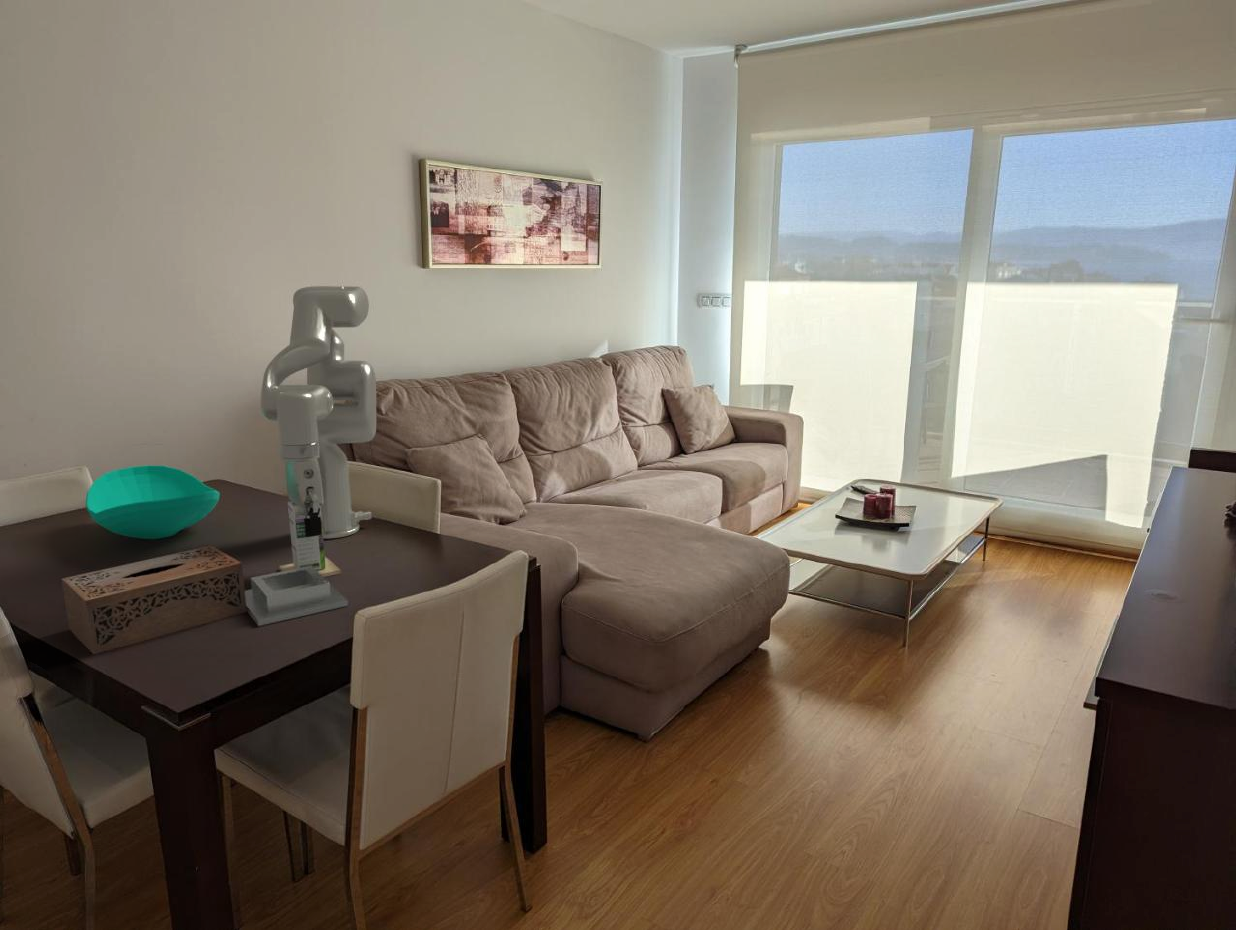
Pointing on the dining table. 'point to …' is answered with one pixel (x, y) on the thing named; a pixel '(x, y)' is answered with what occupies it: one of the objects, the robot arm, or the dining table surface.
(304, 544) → the syrup box
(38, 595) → the dining table surface
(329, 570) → the cork mat
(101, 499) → the table top decor
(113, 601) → the tissue box cover
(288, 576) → the gray stepped square frame
